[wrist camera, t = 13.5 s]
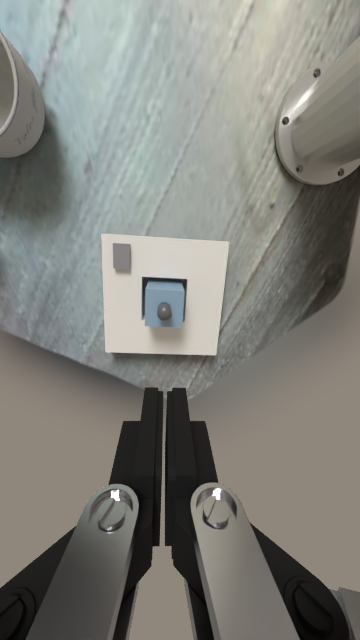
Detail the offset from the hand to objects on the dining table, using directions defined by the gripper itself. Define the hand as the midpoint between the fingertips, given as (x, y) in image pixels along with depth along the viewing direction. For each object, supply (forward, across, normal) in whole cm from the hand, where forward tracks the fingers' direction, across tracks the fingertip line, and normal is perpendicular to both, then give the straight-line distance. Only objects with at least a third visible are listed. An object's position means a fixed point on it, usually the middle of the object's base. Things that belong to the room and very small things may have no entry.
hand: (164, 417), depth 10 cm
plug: (+27, 0, +1) cm, 27 cm away
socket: (+27, 0, +1) cm, 27 cm away
